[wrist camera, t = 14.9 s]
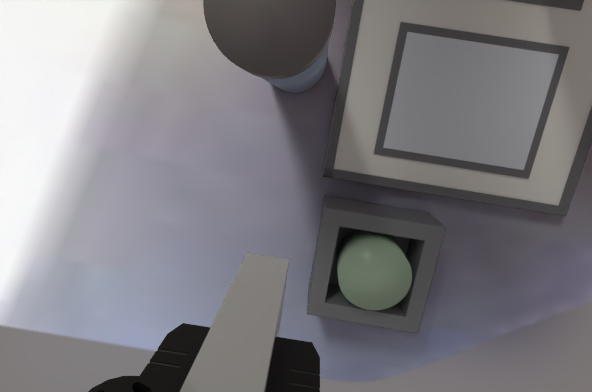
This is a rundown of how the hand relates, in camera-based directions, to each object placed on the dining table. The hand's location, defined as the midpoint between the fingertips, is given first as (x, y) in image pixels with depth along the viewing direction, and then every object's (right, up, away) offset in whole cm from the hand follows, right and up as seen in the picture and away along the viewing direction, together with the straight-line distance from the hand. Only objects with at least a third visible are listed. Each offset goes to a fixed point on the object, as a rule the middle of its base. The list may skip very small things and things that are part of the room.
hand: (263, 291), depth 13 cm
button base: (+6, -1, +13) cm, 14 cm away
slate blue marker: (+1, +12, +10) cm, 16 cm away
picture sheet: (+13, +14, +9) cm, 21 cm away
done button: (+6, -1, +12) cm, 13 cm away
